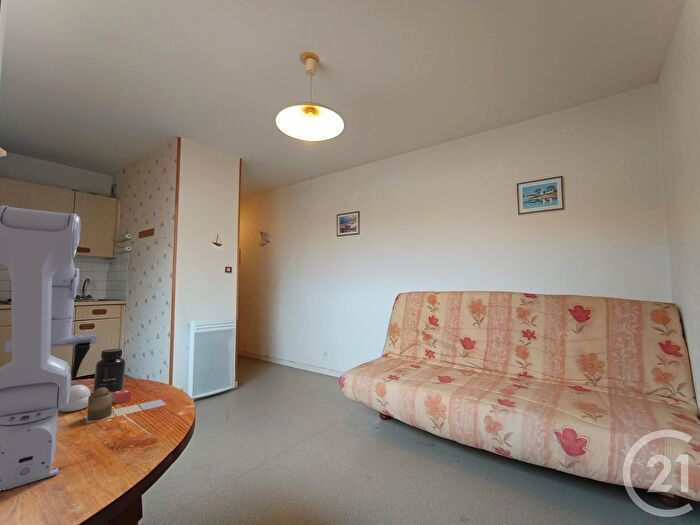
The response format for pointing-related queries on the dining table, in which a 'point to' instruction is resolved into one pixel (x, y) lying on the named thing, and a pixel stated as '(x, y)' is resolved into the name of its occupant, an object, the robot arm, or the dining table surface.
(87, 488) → the dining table surface
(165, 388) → the dining table surface
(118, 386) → the supplement bottle
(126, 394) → the red die
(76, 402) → the dome
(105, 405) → the pawn
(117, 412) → the game board
